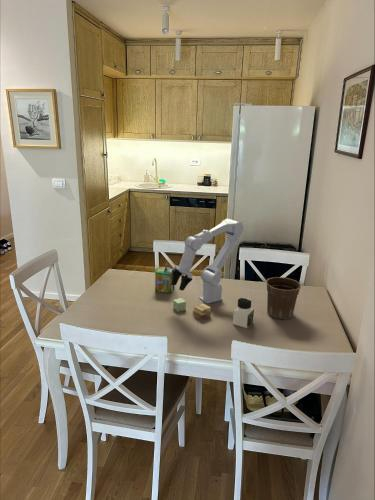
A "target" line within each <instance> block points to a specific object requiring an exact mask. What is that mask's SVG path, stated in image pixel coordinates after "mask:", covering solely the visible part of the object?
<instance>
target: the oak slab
mask: <svg viewBox="0 0 375 500" xmlns="http://www.w3.org/2000/svg"><path fill="white" fill-rule="evenodd" d="M193 307H194V309H193V310H194V311H195V312H196V313H198V314H200V315H205V314H207V313H211V311H212V310H211V306H209V305H208V304H207V305H206V304H205V303H200V304H197V305H195V306H193Z"/></svg>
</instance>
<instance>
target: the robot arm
mask: <svg viewBox="0 0 375 500" xmlns="http://www.w3.org/2000/svg"><path fill="white" fill-rule="evenodd" d="M222 233H225V235H226V240H225V242H224V244H223V245H222V247H221V248H220V250H219V252H218V254H217V255H216V256H215V259H214V260H213V262H212V263H211V264H209V265H207V266H206V267H205V268H203V270H202V271H201V272H200V279H201V280H202V283H203V285H202V296H199V299H201V300H202V301H203V302H205V303H206V304H207V305H208V304H212V303H216V302H219V301H222V300H223V299H222V293H223V287H222V284H221V281H222V280H221V279H222V276H223V274H224V273H223V272H222V269H223V268H224V265H225V264H226V263H227V260H228V259H229V257H230V256H231V254H232V252H233V251H234V249H235V247H236V245H237V244H238V243H239V240H240V237H241V235H242V233H244V224H243V222H241V221H238V220H233V219H231V218H229V217H228V218H227V217H226V218H225V219H223V220H222V221H221V222H220V223H219V224H217V225H216V226H215V227H213V228H211V229H210V230H209V229H203V230H202V231H200V232H199V233H197V234H194V235H193V236H192V235H191V236H188V237H187V238H186V239H185V240H184V249H183V254H182V256H181V259H180V262H179V265H176V264H174V267H173V268H174V269H175V270H172V285H174V286H177V284H178V283H179V282H178V281H179V280H180V284H179V291H185V289H186V288H187V286H189V284H190V283H191V282H192V281H193V276H194V274H193V273H192V272H191V268H192V265H193V264H194V263H193V262H194V260H195V257H196V254H197V251H199V250H200V249H201V248H202V246H203V245H205V244H207V243H209V242H211V241H212V240H213V237H215V236H217V235H219V234H222Z"/></svg>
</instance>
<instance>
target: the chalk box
mask: <svg viewBox="0 0 375 500" xmlns="http://www.w3.org/2000/svg"><path fill="white" fill-rule="evenodd" d="M168 265H169V263H167V264H166V265H165V266H159V267H158V268H157V269H156V271H155V274H154V275H155V276H154V282H155V283H154V284H155V285H154V292H155V291H157V292H158V293H164V292H165V294H172V292H173V290H174V289H175V285H172V270H175V269H174V267H168ZM157 292H156V293H157Z"/></svg>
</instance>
